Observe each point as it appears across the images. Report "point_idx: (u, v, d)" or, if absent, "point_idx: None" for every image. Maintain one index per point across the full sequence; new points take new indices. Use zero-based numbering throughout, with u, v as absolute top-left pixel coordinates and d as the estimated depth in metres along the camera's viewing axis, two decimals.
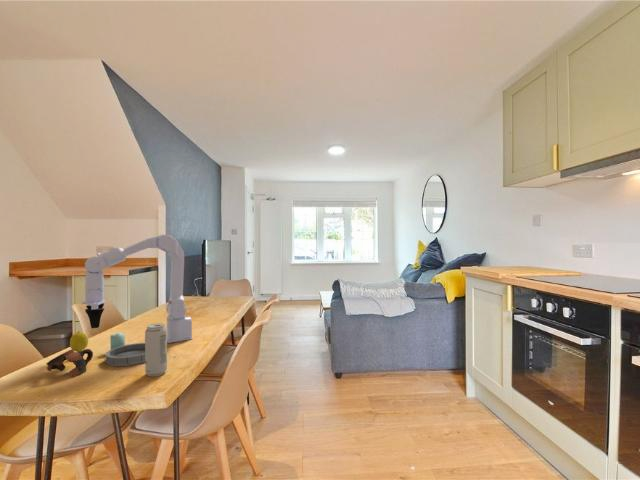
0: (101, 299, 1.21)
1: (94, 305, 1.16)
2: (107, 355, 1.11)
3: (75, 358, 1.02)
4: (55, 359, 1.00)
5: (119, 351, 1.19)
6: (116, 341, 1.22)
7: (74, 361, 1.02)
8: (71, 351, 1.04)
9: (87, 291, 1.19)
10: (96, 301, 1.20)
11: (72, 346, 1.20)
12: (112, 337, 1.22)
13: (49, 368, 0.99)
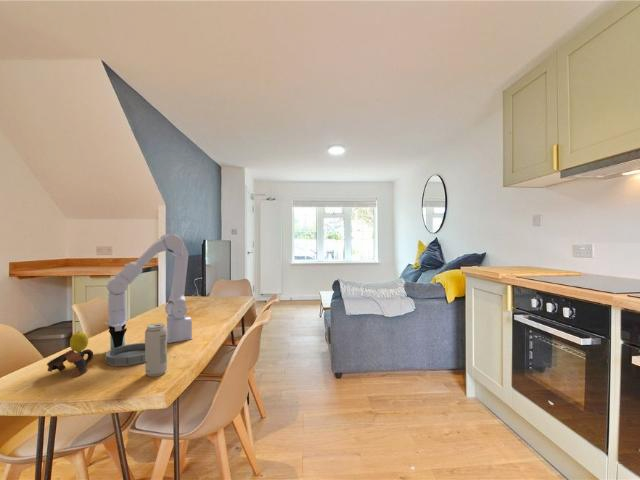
0: (123, 320, 1.23)
1: (118, 327, 1.18)
2: (107, 355, 1.11)
3: (75, 359, 1.02)
4: (55, 360, 0.99)
5: (119, 351, 1.19)
6: None
7: (74, 362, 1.01)
8: (71, 352, 1.03)
9: (110, 312, 1.21)
10: (119, 322, 1.22)
11: (72, 346, 1.20)
12: None
13: (49, 369, 0.99)
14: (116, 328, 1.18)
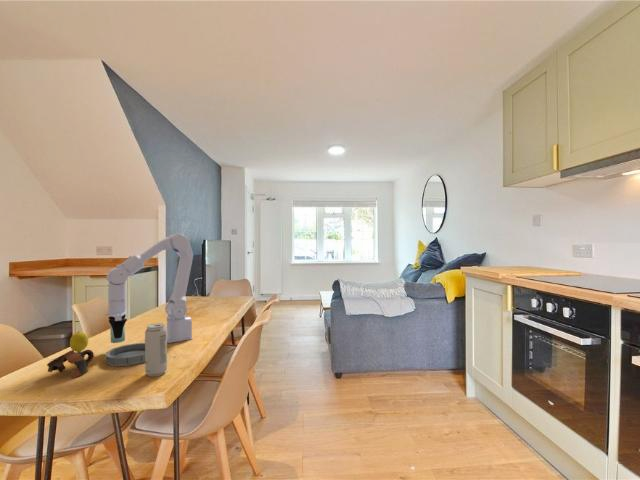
0: (123, 310, 1.23)
1: (118, 316, 1.18)
2: (107, 355, 1.11)
3: (76, 359, 1.01)
4: (56, 360, 0.99)
5: (119, 351, 1.19)
6: None
7: (75, 362, 1.01)
8: (72, 352, 1.03)
9: (110, 302, 1.21)
10: (119, 312, 1.22)
11: (72, 346, 1.20)
12: None
13: (50, 369, 0.98)
14: (116, 318, 1.18)
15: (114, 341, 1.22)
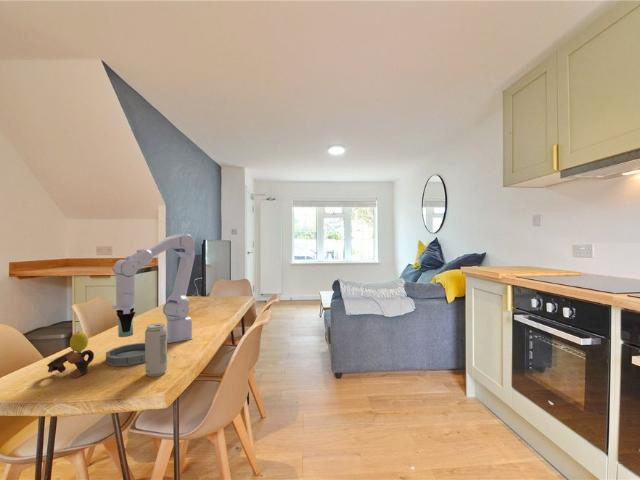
0: (132, 303, 1.19)
1: (126, 309, 1.13)
2: (107, 355, 1.11)
3: (76, 359, 1.01)
4: (56, 360, 0.99)
5: (119, 351, 1.19)
6: None
7: (75, 362, 1.00)
8: (72, 352, 1.02)
9: (118, 295, 1.17)
10: (127, 305, 1.17)
11: (72, 346, 1.20)
12: None
13: (50, 370, 0.98)
14: (124, 311, 1.13)
15: (122, 335, 1.17)
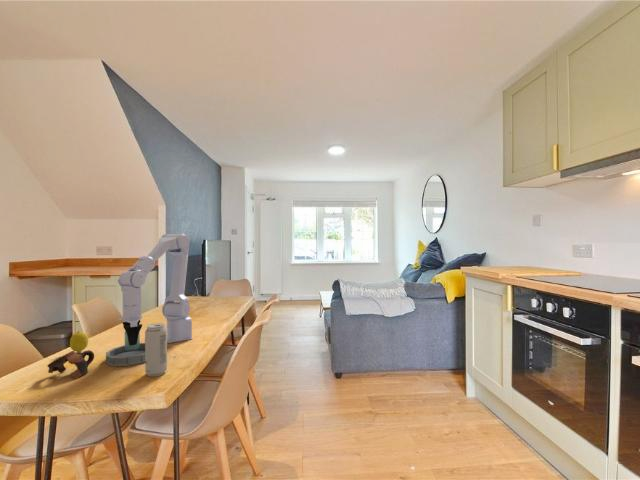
0: (139, 315, 1.16)
1: (133, 322, 1.10)
2: (107, 355, 1.11)
3: (77, 360, 1.01)
4: (56, 361, 0.98)
5: (119, 351, 1.19)
6: None
7: (76, 363, 1.00)
8: (72, 353, 1.02)
9: (125, 307, 1.14)
10: (134, 317, 1.14)
11: (72, 346, 1.20)
12: (126, 333, 1.14)
13: (50, 370, 0.98)
14: (131, 324, 1.10)
15: (129, 348, 1.14)
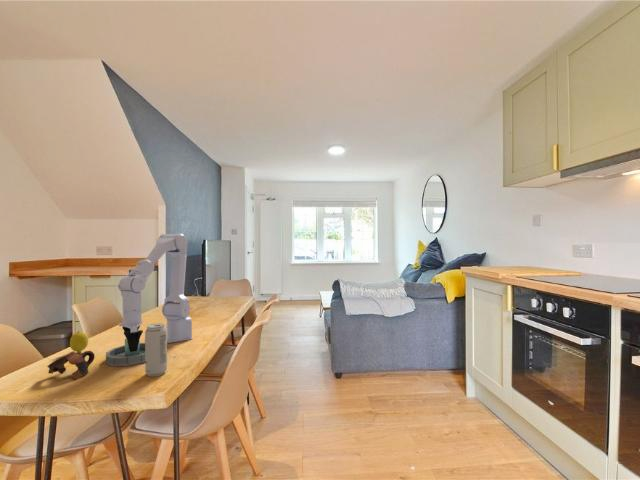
0: (139, 320, 1.16)
1: (133, 328, 1.10)
2: (107, 355, 1.11)
3: (77, 360, 1.00)
4: (57, 361, 0.98)
5: (119, 351, 1.19)
6: None
7: (76, 363, 1.00)
8: (73, 353, 1.02)
9: (125, 312, 1.14)
10: (134, 323, 1.14)
11: (72, 346, 1.20)
12: (127, 341, 1.14)
13: (50, 371, 0.97)
14: (132, 329, 1.10)
15: None
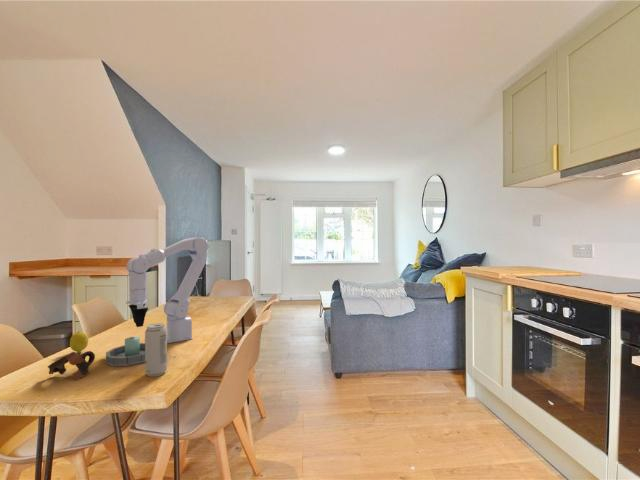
0: (144, 299, 1.25)
1: (140, 304, 1.20)
2: (107, 355, 1.11)
3: (77, 361, 1.00)
4: (57, 362, 0.97)
5: (119, 351, 1.19)
6: (131, 345, 1.14)
7: (77, 364, 0.99)
8: (73, 353, 1.01)
9: (131, 291, 1.23)
10: (140, 301, 1.24)
11: (72, 346, 1.20)
12: (127, 341, 1.14)
13: (51, 371, 0.97)
14: (138, 306, 1.20)
15: None
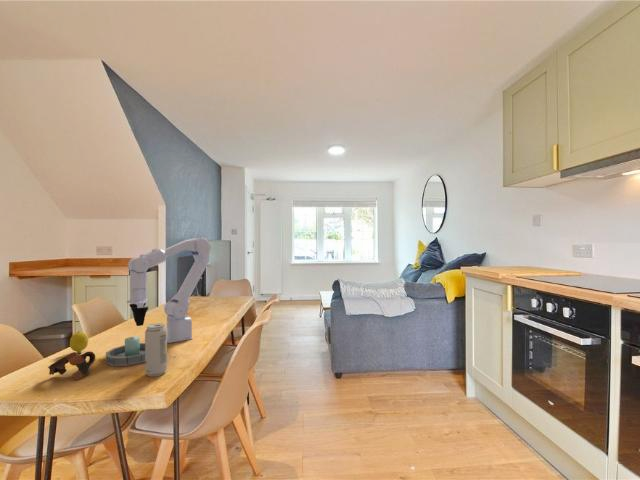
0: (145, 298, 1.26)
1: (140, 304, 1.21)
2: (107, 355, 1.11)
3: (78, 361, 1.00)
4: (57, 362, 0.97)
5: (119, 351, 1.19)
6: (131, 345, 1.14)
7: (77, 364, 0.99)
8: (73, 354, 1.01)
9: (132, 290, 1.24)
10: (140, 300, 1.25)
11: (72, 346, 1.20)
12: (127, 341, 1.14)
13: (51, 372, 0.96)
14: (138, 305, 1.21)
15: None
